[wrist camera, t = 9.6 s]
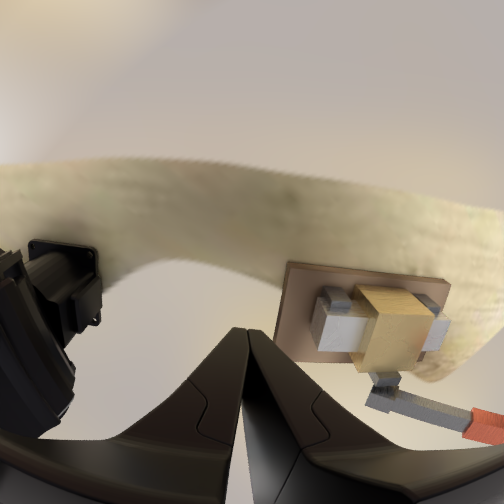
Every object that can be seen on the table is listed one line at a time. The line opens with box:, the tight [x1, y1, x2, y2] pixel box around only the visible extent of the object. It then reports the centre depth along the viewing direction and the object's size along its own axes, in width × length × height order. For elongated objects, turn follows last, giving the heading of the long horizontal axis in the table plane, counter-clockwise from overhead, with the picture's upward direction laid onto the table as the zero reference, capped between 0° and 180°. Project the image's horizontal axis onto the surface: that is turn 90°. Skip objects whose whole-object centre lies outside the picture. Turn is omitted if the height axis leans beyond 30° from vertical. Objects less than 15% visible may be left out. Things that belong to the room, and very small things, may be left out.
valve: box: [310, 284, 451, 387], centre depth 20 cm, size 10×5×5 cm, turn 82°
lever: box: [365, 385, 504, 445], centre depth 16 cm, size 2×2×12 cm
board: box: [273, 262, 451, 363], centre depth 23 cm, size 14×8×1 cm, turn 82°
